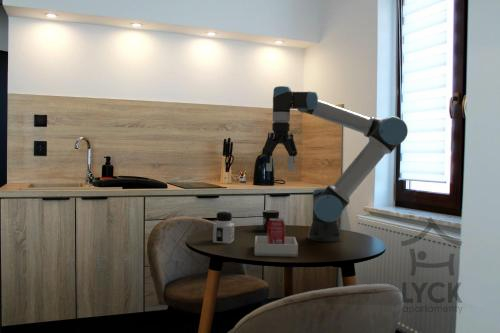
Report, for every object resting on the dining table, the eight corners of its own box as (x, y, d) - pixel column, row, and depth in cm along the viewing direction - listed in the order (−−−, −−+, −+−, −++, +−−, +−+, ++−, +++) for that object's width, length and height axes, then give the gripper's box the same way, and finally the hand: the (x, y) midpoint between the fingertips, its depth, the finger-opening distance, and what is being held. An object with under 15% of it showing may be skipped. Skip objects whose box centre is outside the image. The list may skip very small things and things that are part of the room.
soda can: (275, 246, 189) (276, 217, 188) (288, 249, 184) (288, 219, 183) (263, 248, 184) (264, 218, 183) (276, 251, 179) (276, 221, 178)
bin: (294, 247, 192) (295, 237, 192) (297, 256, 175) (297, 245, 175) (255, 246, 192) (255, 235, 192) (254, 255, 176) (254, 243, 176)
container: (229, 243, 197) (230, 213, 196) (212, 242, 198) (213, 212, 198) (234, 240, 204) (234, 211, 204) (217, 239, 206) (218, 210, 206)
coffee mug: (279, 232, 227) (279, 212, 226) (262, 232, 227) (262, 212, 227) (278, 228, 238) (278, 209, 238) (261, 228, 239) (262, 209, 238)
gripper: (293, 124, 211) (292, 170, 212) (254, 120, 194) (253, 170, 195) (306, 123, 206) (304, 170, 206) (267, 120, 189) (265, 171, 189)
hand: (279, 170), depth 201 cm, fingers open, 13 cm apart
